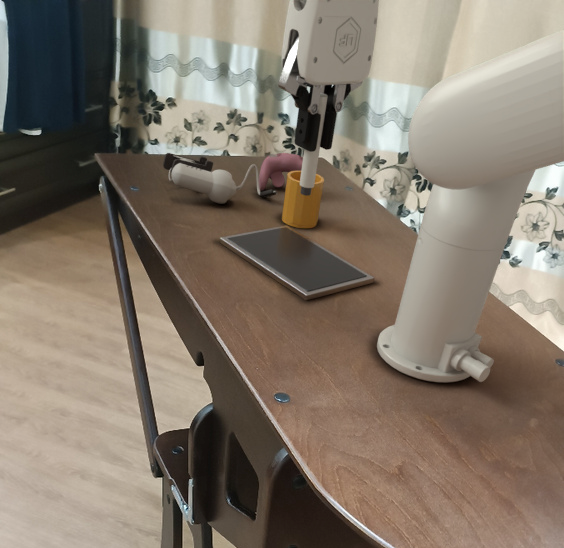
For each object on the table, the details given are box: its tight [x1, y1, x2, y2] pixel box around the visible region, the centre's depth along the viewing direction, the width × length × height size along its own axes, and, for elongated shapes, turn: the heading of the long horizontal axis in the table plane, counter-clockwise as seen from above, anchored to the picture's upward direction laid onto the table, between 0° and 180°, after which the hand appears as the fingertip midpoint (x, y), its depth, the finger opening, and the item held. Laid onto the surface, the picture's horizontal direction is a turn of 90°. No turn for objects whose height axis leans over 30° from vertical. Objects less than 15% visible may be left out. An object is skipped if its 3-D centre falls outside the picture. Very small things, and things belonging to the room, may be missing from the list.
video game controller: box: [258, 152, 303, 192], centre depth 125 cm, size 10×5×7 cm, turn 84°
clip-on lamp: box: [162, 152, 278, 205], centre depth 119 cm, size 12×6×18 cm
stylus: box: [300, 93, 328, 196], centre depth 84 cm, size 2×2×11 cm
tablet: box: [219, 224, 375, 301], centre depth 104 cm, size 20×13×1 cm, turn 39°
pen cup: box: [281, 171, 325, 229], centre depth 114 cm, size 6×6×7 cm
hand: (312, 145), depth 84 cm, fingers closed on stylus, 1 cm apart
